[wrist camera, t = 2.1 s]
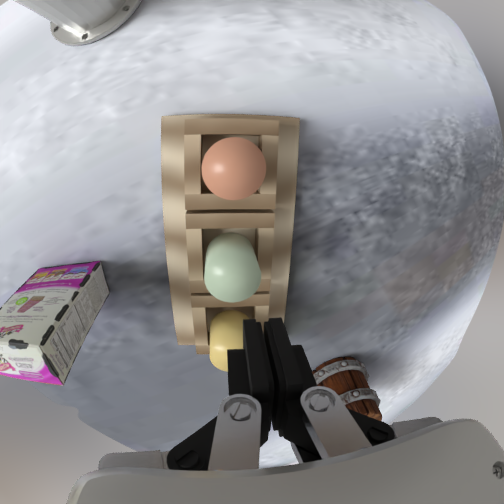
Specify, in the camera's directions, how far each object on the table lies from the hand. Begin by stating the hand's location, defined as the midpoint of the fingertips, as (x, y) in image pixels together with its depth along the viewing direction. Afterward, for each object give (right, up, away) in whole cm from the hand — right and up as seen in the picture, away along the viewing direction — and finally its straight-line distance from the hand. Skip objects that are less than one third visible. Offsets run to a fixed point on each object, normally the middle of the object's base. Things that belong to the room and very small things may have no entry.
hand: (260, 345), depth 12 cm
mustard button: (-3, -5, +19) cm, 20 cm away
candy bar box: (-24, 0, +19) cm, 31 cm away
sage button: (-3, +4, +16) cm, 17 cm away
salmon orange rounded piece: (-2, +12, +13) cm, 18 cm away
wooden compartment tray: (-3, +5, +19) cm, 20 cm away
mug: (+15, -18, +32) cm, 40 cm away
